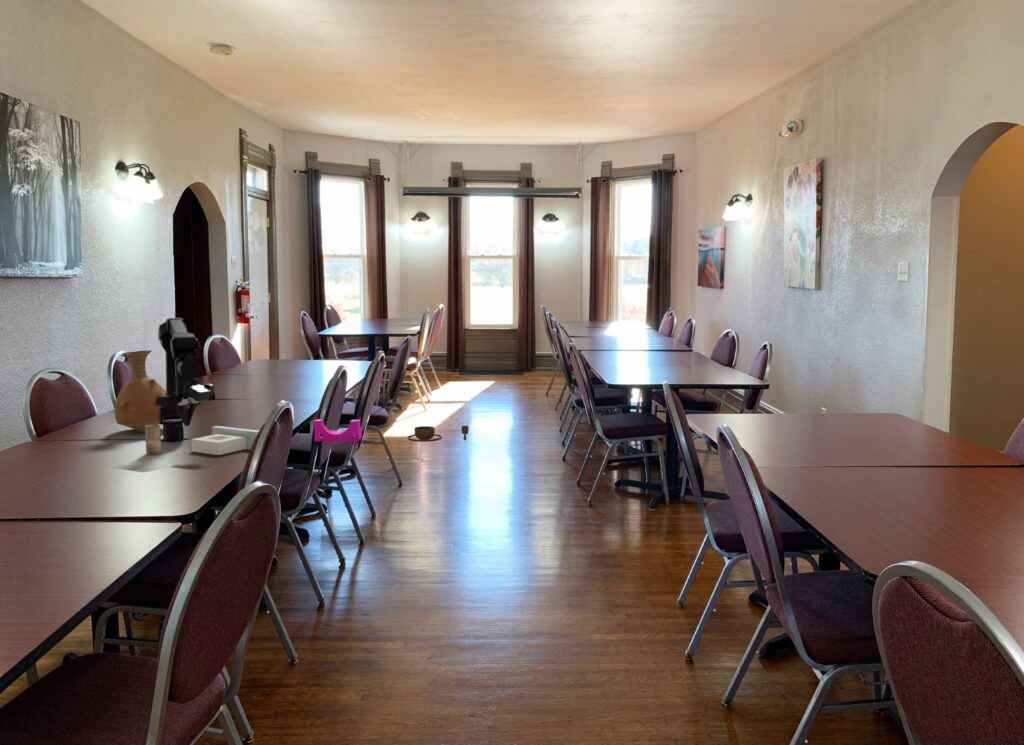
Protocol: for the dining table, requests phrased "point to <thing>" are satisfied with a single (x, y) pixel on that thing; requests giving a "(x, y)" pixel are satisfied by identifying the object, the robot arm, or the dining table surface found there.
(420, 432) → the place setting
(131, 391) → the jug
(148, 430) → the dowel
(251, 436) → the board
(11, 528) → the dining table surface
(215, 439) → the socket block
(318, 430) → the toy block
